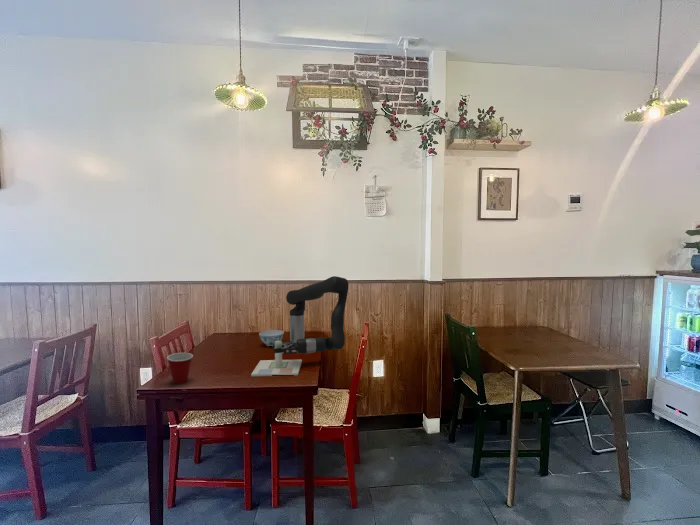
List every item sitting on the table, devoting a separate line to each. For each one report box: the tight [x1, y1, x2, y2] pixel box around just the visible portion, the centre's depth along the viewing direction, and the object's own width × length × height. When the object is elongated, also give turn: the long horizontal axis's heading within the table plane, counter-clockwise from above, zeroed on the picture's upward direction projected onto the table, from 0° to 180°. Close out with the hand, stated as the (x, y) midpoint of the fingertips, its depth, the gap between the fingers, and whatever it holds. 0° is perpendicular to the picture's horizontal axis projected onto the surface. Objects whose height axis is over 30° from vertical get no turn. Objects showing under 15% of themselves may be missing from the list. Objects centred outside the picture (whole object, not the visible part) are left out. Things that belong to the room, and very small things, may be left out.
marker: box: [274, 340, 283, 366], centre depth 176 cm, size 4×4×12 cm
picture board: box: [250, 359, 303, 377], centre depth 175 cm, size 20×22×1 cm
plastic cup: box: [166, 352, 194, 384], centre depth 159 cm, size 11×11×12 cm
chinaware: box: [258, 329, 285, 347], centre depth 216 cm, size 15×15×8 cm
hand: (273, 348), depth 175 cm, fingers open, 6 cm apart
